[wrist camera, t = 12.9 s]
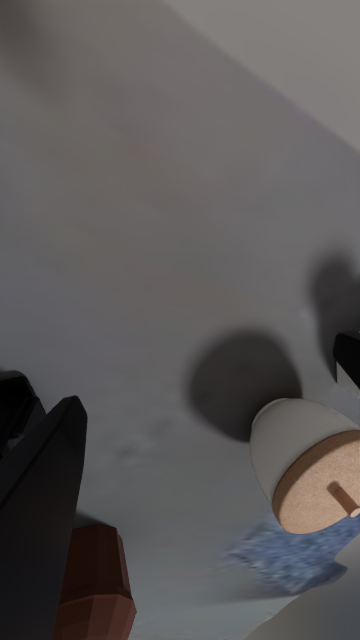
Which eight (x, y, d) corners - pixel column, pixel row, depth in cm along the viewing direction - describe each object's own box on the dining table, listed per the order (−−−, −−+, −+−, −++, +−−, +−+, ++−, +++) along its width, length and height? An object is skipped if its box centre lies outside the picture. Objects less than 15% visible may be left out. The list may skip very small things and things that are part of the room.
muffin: (11, 558, 26) (-44, 731, 17) (94, 503, 26) (85, 642, 17) (78, 586, 31) (64, 730, 22) (147, 539, 32) (161, 662, 23)
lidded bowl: (266, 367, 26) (359, 450, 16) (331, 392, 31) (434, 467, 21) (214, 450, 29) (268, 564, 19) (282, 461, 34) (353, 556, 24)
